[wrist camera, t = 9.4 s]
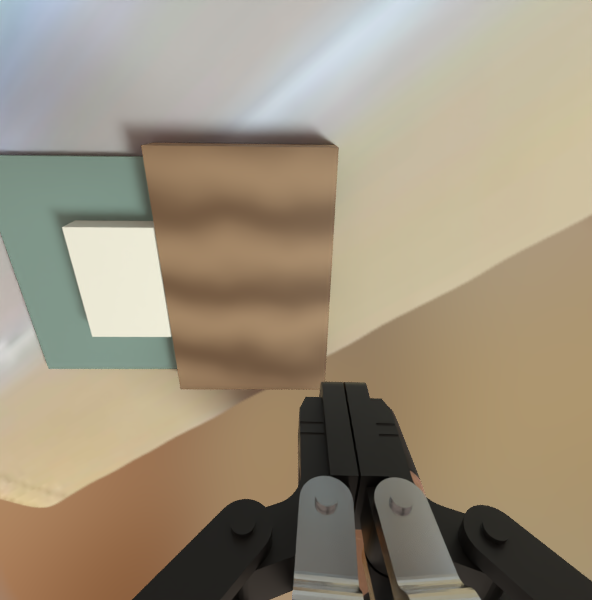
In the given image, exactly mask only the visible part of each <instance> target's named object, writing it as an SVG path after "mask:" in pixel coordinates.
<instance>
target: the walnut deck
mask: <svg viewBox="0 0 592 600" xmlns="http://www.w3.org/2000/svg"><path fill="white" fill-rule="evenodd" d="M141 148H142V154H143V160H144V167H145V173H146V179H147V185H148V191H149V197H150V203H151V210H152V216H153V222H154V228H155V234H156V240H157V246H158V253H159V259H160V265H161V271H162V277H163V283H164V290H165V296H166V302H167V308H168V314H169V320H170V326H171V333H172V339H173V345H174V351H175V357H176V363H177V369H178V376H179V382H180V388H181V389H320V384H321V382H325V369H326V353H327V336H328V319H329V302H330V285H331V268H332V251H333V234H334V217H335V200H336V183H337V166H338V149H339V148H338V147H337V146H336V145H315V144H230V143H149V144H144V145H141Z"/></svg>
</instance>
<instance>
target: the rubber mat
mask: <svg viewBox="0 0 592 600" xmlns="http://www.w3.org/2000/svg"><path fill="white" fill-rule="evenodd" d="M75 220H88V221H153V216H152V210H151V203H150V197H149V191H148V185H147V179H146V173H145V167H144V160H143V156H67V155H0V233H1V235H2V238H3V241H4V244H5V247H6V250H7V252H8V255H9V258H10V261H11V264H12V266H13V269H14V272H15V275H16V278H17V281H18V283H19V286H20V289H21V292H22V295H23V297H24V300H25V303H26V306H27V309H28V312H29V314H30V317H31V320H32V323H33V326H34V329H35V331H36V334H37V337H38V340H39V343H40V345H41V348H42V351H43V354H44V357H45V360H46V362H47V365H48V368H49V369H177V363H176V357H175V351H174V345H173V339H172V336H171V337H92V334H91V330H90V327H89V323H88V319H87V316H86V312H85V309H84V305H83V301H82V298H81V294H80V291H79V287H78V283H77V280H76V276H75V273H74V269H73V265H72V262H71V258H70V255H69V251H68V247H67V244H66V240H65V237H64V233H63V229H62V227H63V226H65V225H67V224H69V223H71V222H73V221H75Z"/></svg>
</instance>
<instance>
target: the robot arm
mask: <svg viewBox="0 0 592 600" xmlns="http://www.w3.org/2000/svg"><path fill="white" fill-rule="evenodd" d="M355 530H362V537H363V543H364V545H363V550H362V563H363V568H364V572H365V577H366V582H367V586H368V591H369V596H370V600H592V581H591V580H589V579H588V578H587V577H585V576H584V575H583V574H581V573H580V572H579V571H578V570H576V569H575V568H574V567H573V566H571V565H570V564H569V563H567V562H566V561H565V560H564V559H562V558H561V557H560V556H559V555H557V554H556V553H555V552H553V551H552V550H551V549H550V548H548V547H547V546H546V545H545V544H543V543H542V542H541V541H539V540H538V539H537V538H535V537H534V536H533V535H532V534H530V533H529V532H528V531H527V530H525V529H524V528H523V527H521V526H520V525H519V524H518V523H516V522H515V521H514V520H513V519H511V518H510V517H509V516H507V515H506V514H505V513H503V512H501V511H500V510H498V509H496V508H493V507H490V506H484V505H477V506H473V507H471V508H470V509H468V510H467V512H466V513H461V512H458V511H455V510H452V509H449V508H446V507H443V506H441V505H438V504H436V503H434V502H432V501H430V500H429V499H428V498H427V497H426V496H425V495H424V493H423V492H422V491H421V490H420V489H419V488H418V487H417V486H416V485H415V483H414V482H413V479H412V476H411V473H410V470H409V466H408V463H407V460H406V457H405V453H404V450H403V447H402V444H401V440H400V437H399V434H398V431H397V427H396V426H395V421H394V418H393V414H392V411H391V409H390V408H389V407H388V406H387V405H386V404H385V402H384V401H383V400H382V399H372V398H370V397H369V393H368V389H367V386H366V383H358V382H344V383H343V382H321V384H320V395H319V397H306V398H305V399H304V401H303V403H302V405H301V407H300V412H299V432H298V488H297V489H296V491H295V492H294V493H293V495H292V496H290V497H289V498H288V499H287V500H285V501H283V502H280V503H277V504H274V505H271V506H268V507H265V506H263V505H262V504H261V503H259V502H257V501H255V500H250V499H242V500H237V501H235V502H233V503H231V504H229V505H227V506H226V507H225V508H224V509H223V510H222V511H221V512H220V513H219V514H218V515H217V516H216V517H215V518H214V519H213V520H212V521H211V522H210V523H209V524H208V525H207V526H206V527H205V528H204V529H203V530H202V531H201V532H200V533H199V534H198V535H197V536H196V537H195V538H194V539H193V540H192V541H191V542H190V543H189V544H188V545H187V546H186V547H185V548H184V549H183V550H182V551H181V552H180V553H179V554H178V555H177V556H176V557H175V558H174V559H173V560H172V561H171V562H170V563H169V564H168V565H167V566H166V567H165V568H164V569H163V570H162V571H161V572H159V573H158V574H157V575H156V576H155V578H154V579H152V580H151V581H150V583H149V584H148V585H146V586H145V587H144V588H143V589H142V590H141V592H139V593H138V594H137V595H136V596H135V597H134V598H133V599H132V600H270V599H273V598H275V597H278V596H280V595H282V594H285V593H287V592H290V591H292V590H293V595H292V600H364V599H363V593H362V590H360V588H359V581H358V567H357V551H356V536H355Z"/></svg>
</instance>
